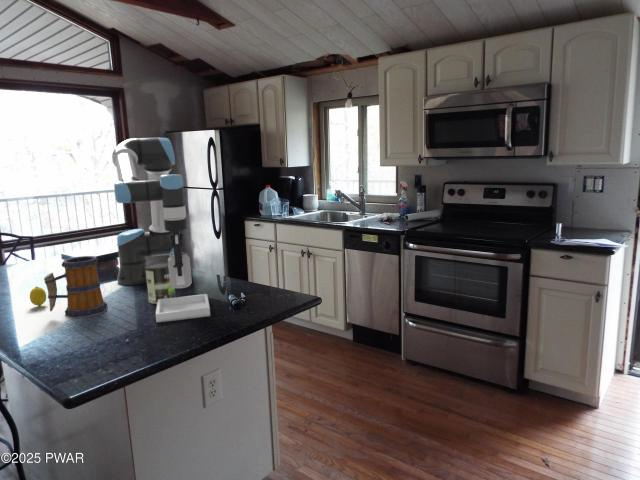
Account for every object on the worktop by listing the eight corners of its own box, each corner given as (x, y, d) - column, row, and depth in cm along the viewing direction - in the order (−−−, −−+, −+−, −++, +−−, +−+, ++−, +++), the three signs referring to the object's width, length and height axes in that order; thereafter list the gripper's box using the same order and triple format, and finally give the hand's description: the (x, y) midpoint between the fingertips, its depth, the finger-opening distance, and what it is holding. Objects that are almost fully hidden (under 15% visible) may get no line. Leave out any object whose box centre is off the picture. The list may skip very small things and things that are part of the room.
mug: (51, 324, 166) (42, 268, 163) (48, 313, 178) (40, 260, 175) (110, 312, 176) (104, 259, 173) (104, 303, 188) (98, 253, 185)
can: (188, 288, 169) (185, 255, 167) (167, 289, 169) (164, 256, 167) (194, 283, 176) (191, 251, 174) (174, 283, 177) (171, 251, 174)
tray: (158, 306, 181) (157, 299, 180) (207, 301, 186) (206, 293, 185) (156, 322, 164) (155, 314, 163) (210, 316, 169) (209, 307, 168)
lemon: (45, 303, 191) (42, 283, 189) (49, 306, 187) (46, 286, 185) (29, 306, 187) (26, 287, 186) (33, 309, 183) (30, 289, 182)
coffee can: (180, 296, 194) (177, 262, 191) (167, 304, 184) (164, 268, 181) (157, 295, 196) (153, 262, 193) (143, 303, 186) (139, 268, 183)
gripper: (164, 216, 177) (170, 276, 181) (162, 223, 158) (169, 290, 162) (185, 214, 179) (191, 274, 183) (186, 221, 160) (192, 287, 164)
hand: (180, 281), depth 173 cm, fingers closed on can, 7 cm apart
